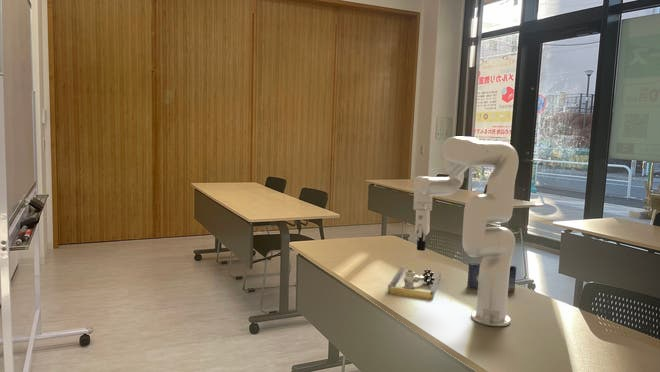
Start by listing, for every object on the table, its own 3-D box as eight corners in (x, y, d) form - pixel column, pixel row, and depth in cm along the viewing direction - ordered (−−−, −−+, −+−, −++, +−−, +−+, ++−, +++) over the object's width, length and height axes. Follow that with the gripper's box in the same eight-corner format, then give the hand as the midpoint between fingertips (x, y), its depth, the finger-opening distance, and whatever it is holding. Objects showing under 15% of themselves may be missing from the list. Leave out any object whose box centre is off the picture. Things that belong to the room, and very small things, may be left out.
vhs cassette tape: (513, 289, 200) (515, 265, 199) (515, 291, 197) (517, 267, 196) (466, 286, 202) (468, 262, 201) (468, 288, 199) (469, 264, 198)
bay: (432, 299, 184) (433, 291, 184) (387, 293, 189) (388, 285, 189) (440, 278, 210) (440, 271, 210) (400, 273, 216) (400, 267, 215)
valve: (409, 290, 194) (434, 287, 199) (410, 274, 193) (435, 271, 198) (399, 285, 200) (424, 282, 205) (400, 269, 199) (425, 266, 204)
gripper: (429, 208, 195) (427, 254, 197) (434, 204, 210) (432, 247, 211) (410, 207, 198) (409, 252, 199) (416, 203, 212) (414, 245, 213)
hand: (420, 250), depth 205 cm, fingers closed
